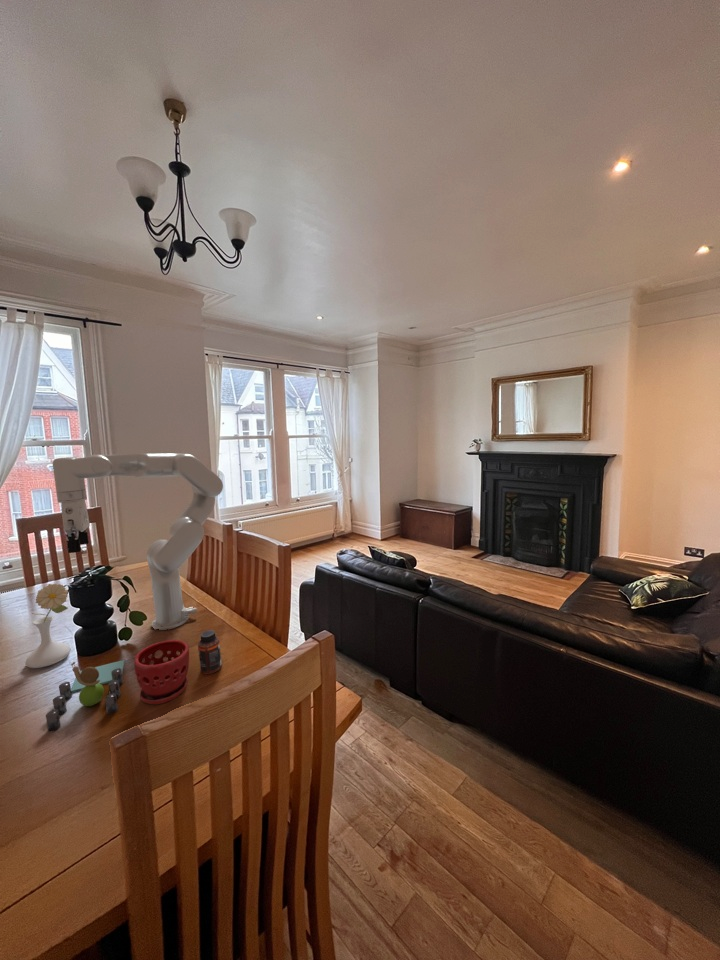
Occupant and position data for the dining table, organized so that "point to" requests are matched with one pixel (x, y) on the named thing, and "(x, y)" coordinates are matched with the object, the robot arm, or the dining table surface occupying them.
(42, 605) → the flower in vase
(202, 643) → the supplement bottle
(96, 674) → the snail figurine
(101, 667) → the teal mat
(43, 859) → the dining table surface
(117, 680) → the spacer posts
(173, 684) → the plant pot
